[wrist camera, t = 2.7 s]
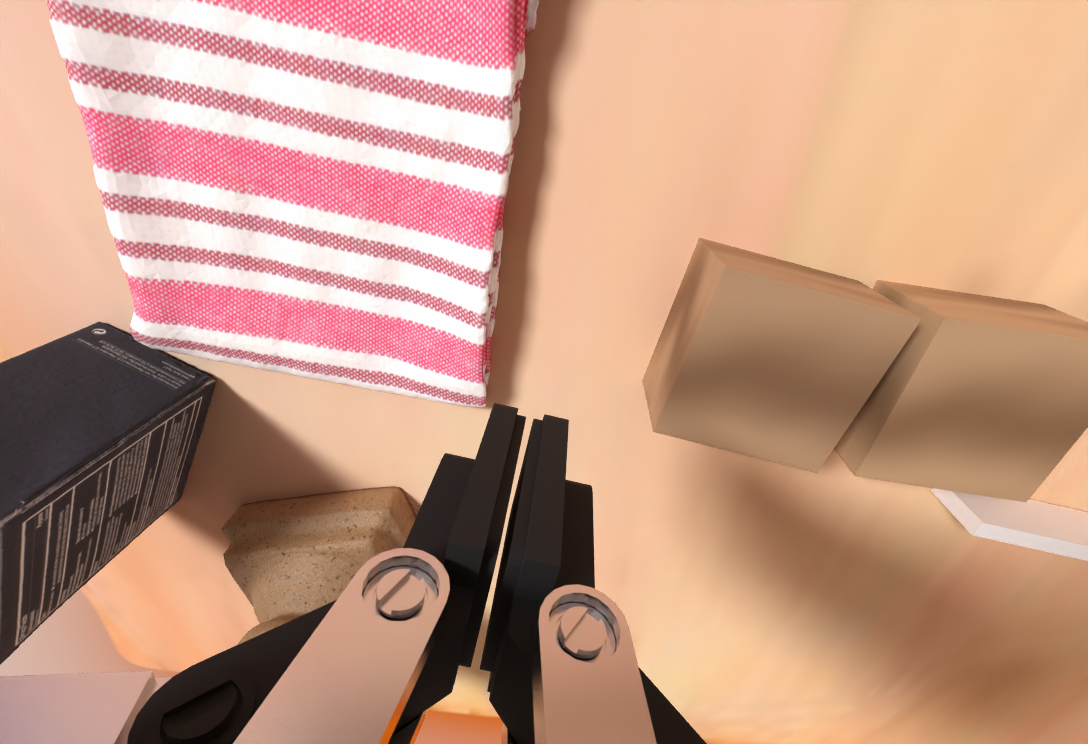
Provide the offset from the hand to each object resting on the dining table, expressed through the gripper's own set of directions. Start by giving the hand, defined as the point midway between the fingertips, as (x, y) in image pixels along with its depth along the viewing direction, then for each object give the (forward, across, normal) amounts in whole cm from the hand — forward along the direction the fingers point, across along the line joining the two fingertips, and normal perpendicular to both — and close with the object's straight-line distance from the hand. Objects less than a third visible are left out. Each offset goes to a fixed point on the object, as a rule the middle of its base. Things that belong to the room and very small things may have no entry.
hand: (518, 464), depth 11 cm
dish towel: (+13, +11, -5) cm, 17 cm away
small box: (+12, +21, +12) cm, 27 cm away
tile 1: (+12, -9, 0) cm, 15 cm away
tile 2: (+12, -17, -1) cm, 21 cm away
